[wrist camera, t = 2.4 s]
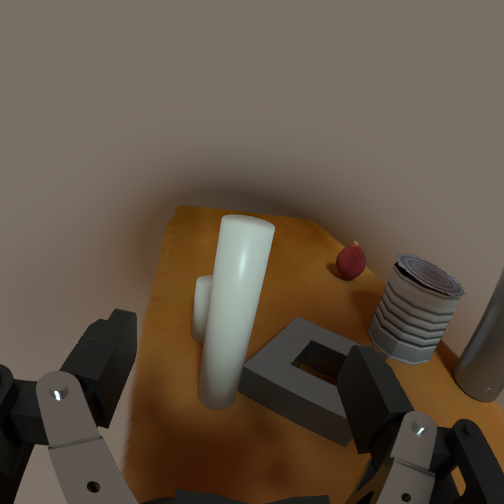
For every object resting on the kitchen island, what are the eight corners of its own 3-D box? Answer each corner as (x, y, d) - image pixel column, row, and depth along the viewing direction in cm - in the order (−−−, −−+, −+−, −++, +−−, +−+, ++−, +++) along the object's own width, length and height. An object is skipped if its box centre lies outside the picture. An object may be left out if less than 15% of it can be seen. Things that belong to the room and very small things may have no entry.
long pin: (213, 377, 29) (241, 212, 23) (242, 395, 27) (283, 227, 21) (189, 395, 26) (211, 218, 20) (220, 416, 24) (257, 235, 18)
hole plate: (290, 338, 38) (297, 316, 36) (375, 377, 32) (387, 355, 31) (236, 390, 28) (242, 365, 27) (345, 446, 23) (361, 424, 21)
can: (393, 316, 48) (419, 252, 44) (443, 351, 39) (476, 283, 35) (352, 329, 42) (380, 254, 38) (408, 375, 33) (450, 295, 29)
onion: (356, 276, 62) (367, 241, 59) (361, 288, 56) (374, 250, 53) (330, 270, 62) (341, 234, 59) (333, 282, 57) (345, 243, 54)
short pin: (204, 321, 38) (210, 272, 35) (226, 334, 36) (236, 284, 34) (184, 333, 35) (189, 281, 32) (208, 347, 33) (215, 295, 31)
